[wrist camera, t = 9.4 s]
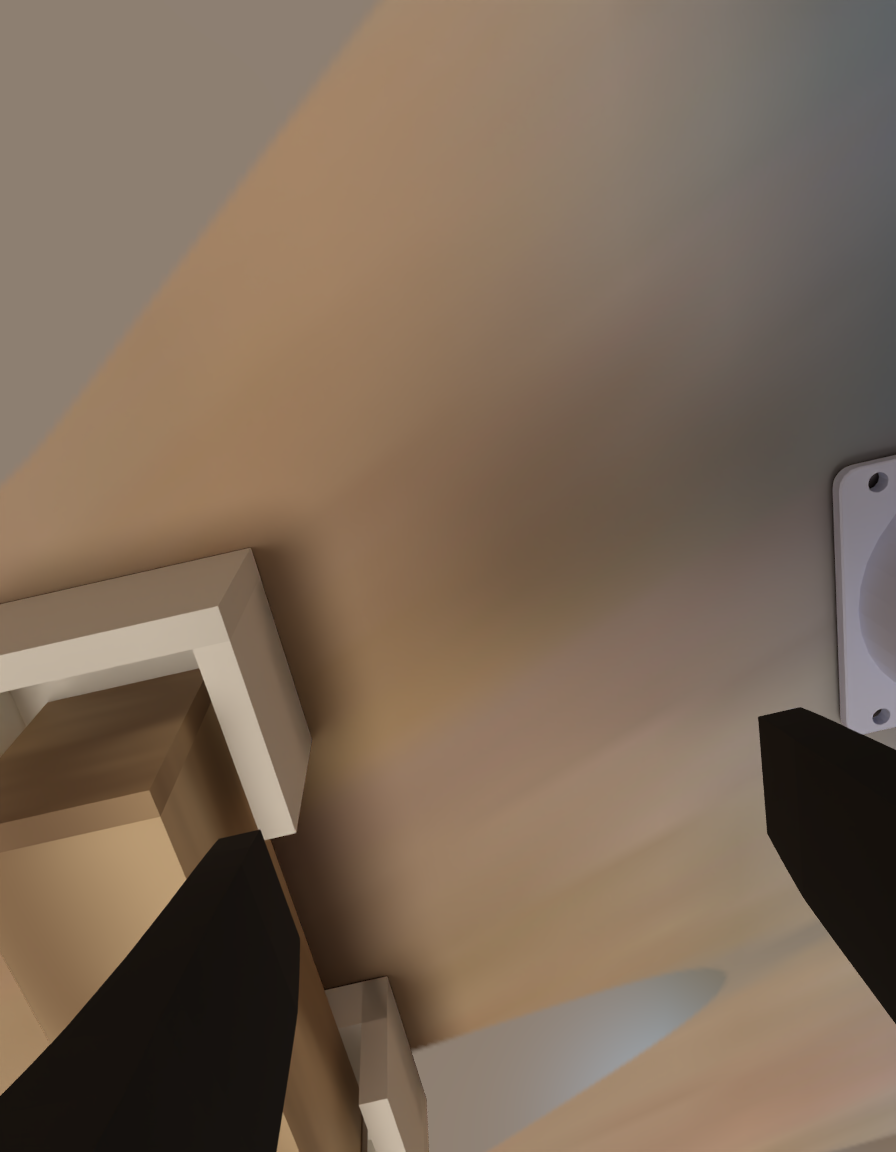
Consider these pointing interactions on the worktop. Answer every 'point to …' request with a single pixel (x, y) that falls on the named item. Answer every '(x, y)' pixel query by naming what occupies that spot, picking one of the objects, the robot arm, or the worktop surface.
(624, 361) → the worktop surface
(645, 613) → the worktop surface
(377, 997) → the cup bracket
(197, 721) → the oak rail
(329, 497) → the worktop surface
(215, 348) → the worktop surface
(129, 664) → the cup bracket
